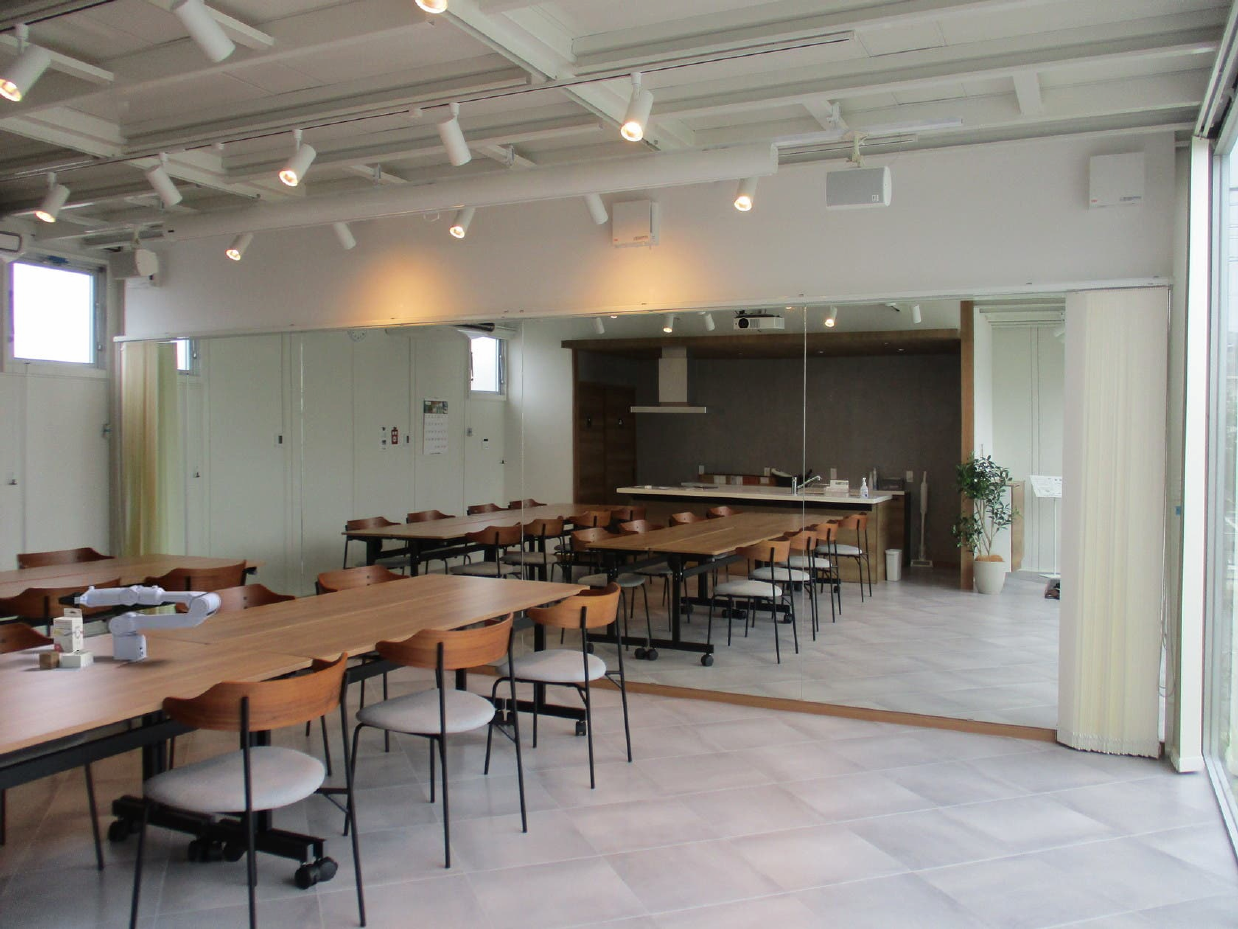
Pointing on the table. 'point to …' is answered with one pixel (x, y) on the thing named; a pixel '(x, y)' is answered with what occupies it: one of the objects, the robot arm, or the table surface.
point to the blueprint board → (74, 661)
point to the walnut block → (49, 660)
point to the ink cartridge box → (68, 631)
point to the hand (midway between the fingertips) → (65, 599)
